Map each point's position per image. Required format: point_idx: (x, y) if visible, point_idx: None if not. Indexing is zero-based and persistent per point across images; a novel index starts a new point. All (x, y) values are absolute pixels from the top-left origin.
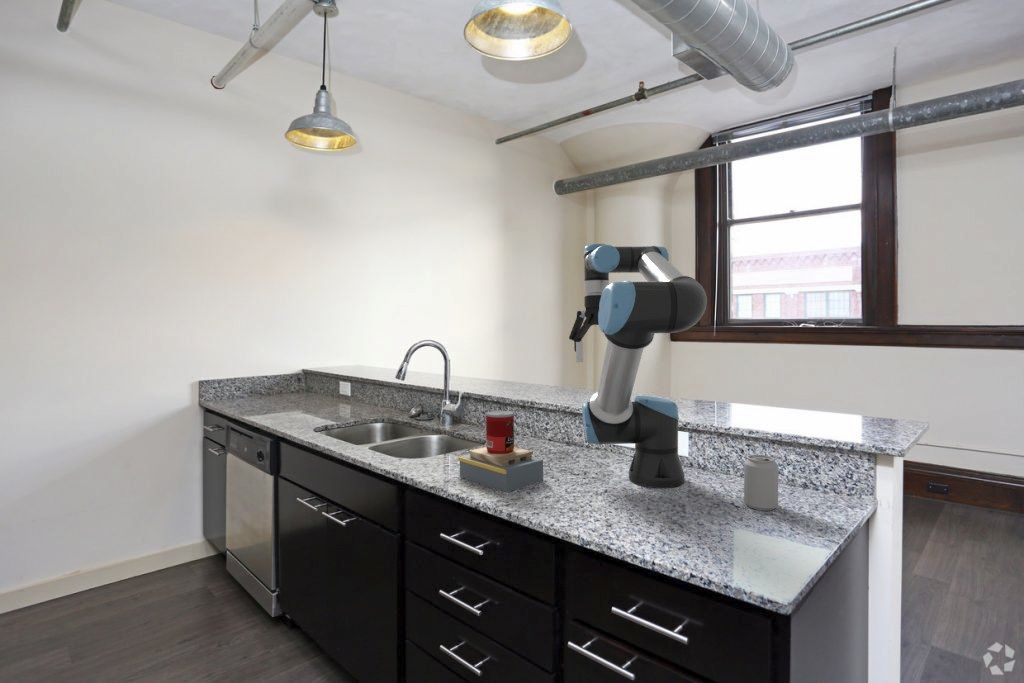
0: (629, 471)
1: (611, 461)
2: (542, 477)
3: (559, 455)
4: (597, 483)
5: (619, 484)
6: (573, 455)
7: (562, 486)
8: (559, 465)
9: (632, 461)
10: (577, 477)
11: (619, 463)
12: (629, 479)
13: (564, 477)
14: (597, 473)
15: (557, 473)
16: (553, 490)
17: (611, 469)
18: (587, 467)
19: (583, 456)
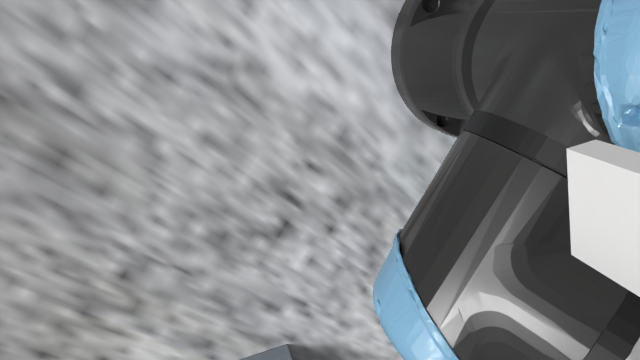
0: (435, 126)
1: (211, 9)
2: (289, 352)
3: (7, 141)
4: (391, 224)
5: (433, 175)
6: (37, 87)
7: (356, 319)
8: (158, 222)
9: (448, 116)
10: (313, 242)
11: (254, 3)
12: (426, 124)
13: (291, 276)
14: (313, 163)
15: (242, 275)
16: (369, 352)
17: (302, 90)
18: (235, 149)
19: (76, 59)
